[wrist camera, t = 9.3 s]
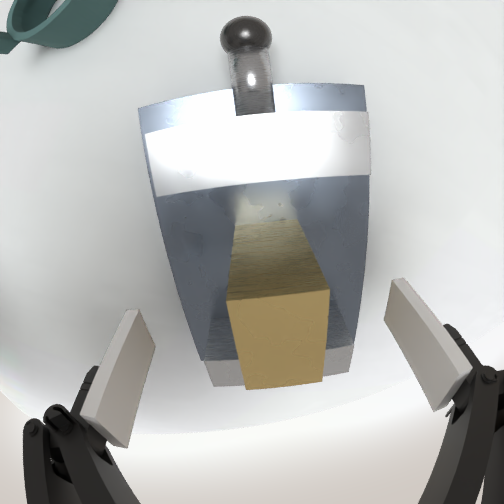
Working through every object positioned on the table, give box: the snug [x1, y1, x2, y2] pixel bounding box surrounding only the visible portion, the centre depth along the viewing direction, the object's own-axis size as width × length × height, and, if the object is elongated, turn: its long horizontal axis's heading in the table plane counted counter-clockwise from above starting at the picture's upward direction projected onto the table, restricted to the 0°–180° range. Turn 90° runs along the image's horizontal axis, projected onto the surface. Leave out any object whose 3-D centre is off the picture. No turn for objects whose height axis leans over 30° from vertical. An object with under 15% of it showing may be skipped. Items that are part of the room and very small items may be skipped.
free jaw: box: [145, 16, 371, 197], centre depth 12 cm, size 10×9×4 cm
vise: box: [138, 83, 369, 387], centre depth 17 cm, size 14×21×6 cm, turn 6°
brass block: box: [226, 219, 330, 390], centre depth 15 cm, size 4×6×8 cm, turn 7°
